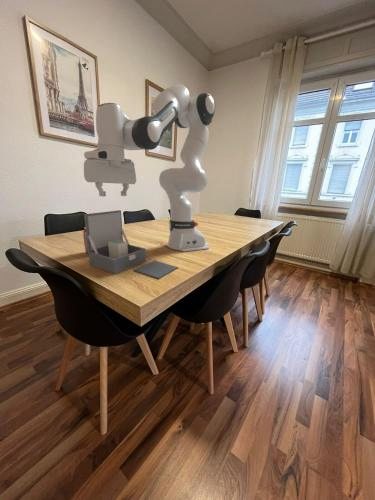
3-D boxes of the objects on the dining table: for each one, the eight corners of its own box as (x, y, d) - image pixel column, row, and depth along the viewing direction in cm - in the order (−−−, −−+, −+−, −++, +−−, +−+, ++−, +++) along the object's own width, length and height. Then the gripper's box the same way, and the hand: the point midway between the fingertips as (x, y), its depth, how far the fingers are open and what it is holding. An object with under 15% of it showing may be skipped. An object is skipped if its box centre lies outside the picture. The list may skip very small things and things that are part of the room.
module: (128, 263, 86) (127, 241, 83) (119, 266, 82) (118, 244, 79) (118, 259, 89) (117, 239, 86) (109, 263, 85) (107, 241, 82)
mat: (154, 261, 88) (154, 260, 88) (178, 268, 82) (178, 267, 82) (134, 270, 78) (134, 269, 78) (158, 279, 73) (158, 277, 72)
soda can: (100, 255, 93) (98, 229, 89) (83, 255, 91) (80, 229, 88) (103, 250, 99) (101, 225, 96) (87, 250, 98) (84, 225, 94)
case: (147, 261, 88) (146, 214, 82) (116, 274, 75) (111, 219, 68) (122, 253, 96) (119, 210, 89) (89, 265, 82) (83, 214, 76)
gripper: (128, 160, 84) (129, 195, 88) (79, 152, 67) (83, 195, 71) (139, 159, 80) (140, 196, 85) (90, 151, 64) (94, 197, 68)
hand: (113, 196), depth 78 cm, fingers open, 8 cm apart
